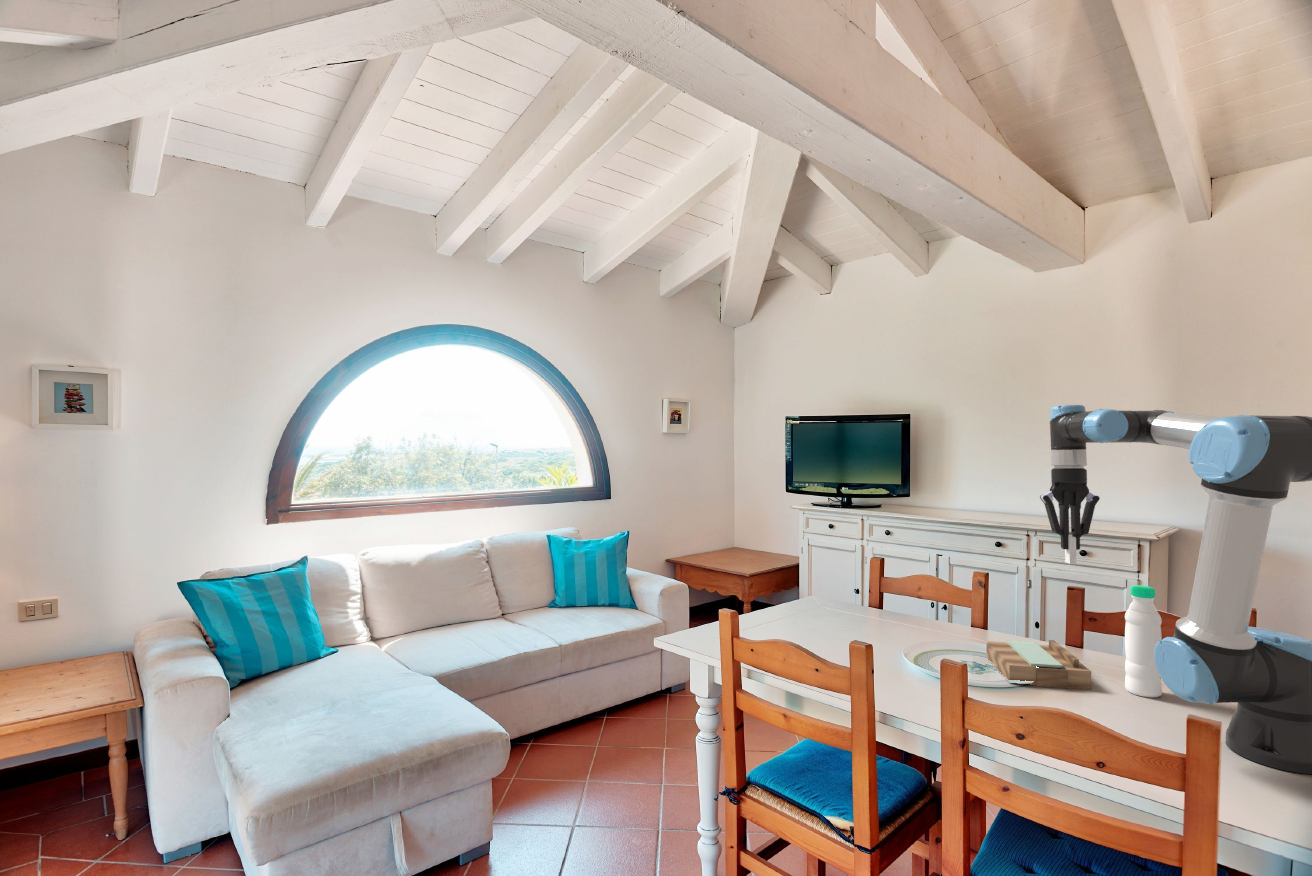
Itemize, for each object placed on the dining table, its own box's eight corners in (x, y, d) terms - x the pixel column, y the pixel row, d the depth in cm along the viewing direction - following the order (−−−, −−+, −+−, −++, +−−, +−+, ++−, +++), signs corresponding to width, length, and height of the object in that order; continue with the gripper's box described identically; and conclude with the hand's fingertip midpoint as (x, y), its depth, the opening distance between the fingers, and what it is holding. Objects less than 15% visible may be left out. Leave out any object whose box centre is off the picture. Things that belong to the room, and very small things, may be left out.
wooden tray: (1092, 690, 158) (1092, 663, 158) (1010, 684, 162) (1010, 658, 162) (1058, 661, 179) (1058, 638, 179) (985, 656, 183) (985, 634, 183)
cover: (1064, 669, 161) (1064, 665, 161) (1031, 667, 162) (1031, 663, 162) (1036, 646, 179) (1036, 642, 179) (1006, 644, 181) (1006, 640, 181)
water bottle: (1168, 699, 152) (1168, 590, 153) (1133, 697, 154) (1133, 589, 154) (1152, 688, 159) (1151, 584, 160) (1119, 686, 161) (1118, 583, 161)
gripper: (1090, 467, 167) (1092, 561, 167) (1034, 467, 170) (1036, 559, 169) (1105, 467, 160) (1107, 566, 159) (1046, 467, 162) (1048, 564, 162)
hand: (1070, 562), depth 164 cm, fingers closed
